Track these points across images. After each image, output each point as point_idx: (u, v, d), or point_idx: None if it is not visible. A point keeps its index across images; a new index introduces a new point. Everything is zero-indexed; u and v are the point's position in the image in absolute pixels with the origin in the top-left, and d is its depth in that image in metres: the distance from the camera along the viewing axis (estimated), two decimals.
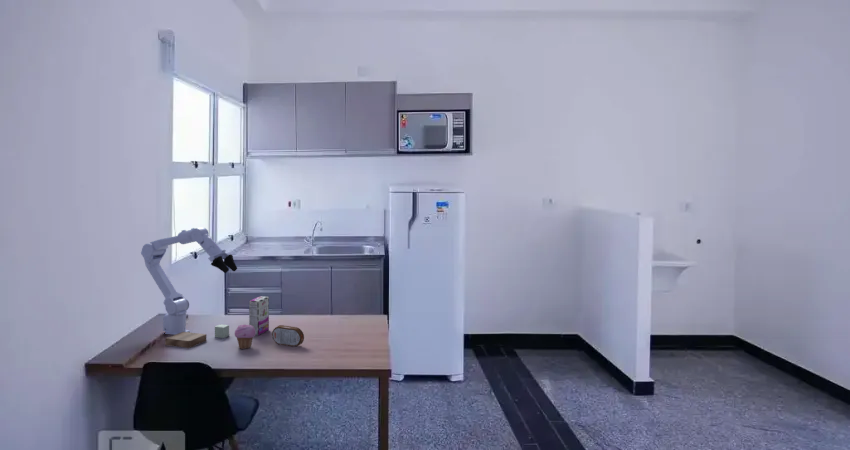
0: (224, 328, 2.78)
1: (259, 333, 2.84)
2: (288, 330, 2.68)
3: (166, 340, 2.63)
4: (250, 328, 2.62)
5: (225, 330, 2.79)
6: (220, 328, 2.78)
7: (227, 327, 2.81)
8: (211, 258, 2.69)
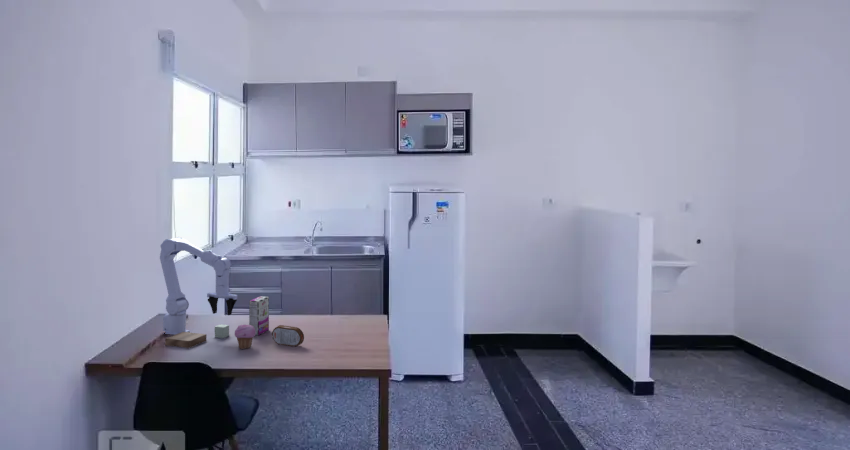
0: (224, 328, 2.78)
1: (259, 333, 2.84)
2: (288, 330, 2.68)
3: (166, 340, 2.63)
4: (250, 328, 2.62)
5: (225, 330, 2.79)
6: (220, 328, 2.78)
7: (227, 327, 2.81)
8: (236, 297, 2.77)
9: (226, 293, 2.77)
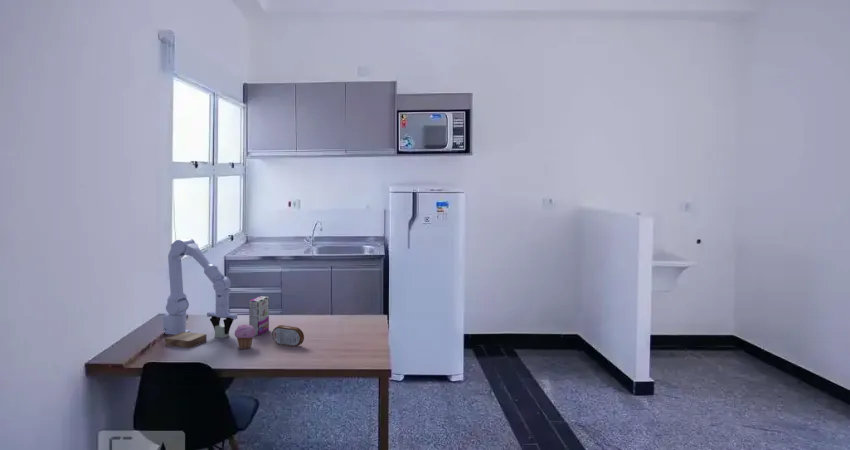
0: (224, 328, 2.78)
1: (259, 333, 2.84)
2: (288, 330, 2.68)
3: (166, 340, 2.63)
4: (250, 328, 2.62)
5: None
6: (220, 328, 2.78)
7: None
8: (236, 317, 2.78)
9: (226, 313, 2.78)
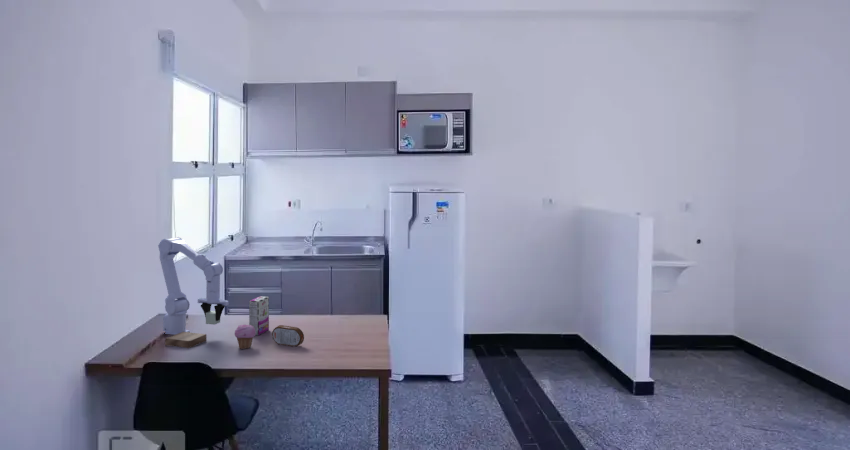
0: (215, 314, 2.75)
1: (259, 333, 2.84)
2: (288, 330, 2.68)
3: (166, 340, 2.63)
4: (250, 328, 2.62)
5: None
6: (211, 314, 2.74)
7: None
8: (227, 303, 2.74)
9: (217, 299, 2.74)
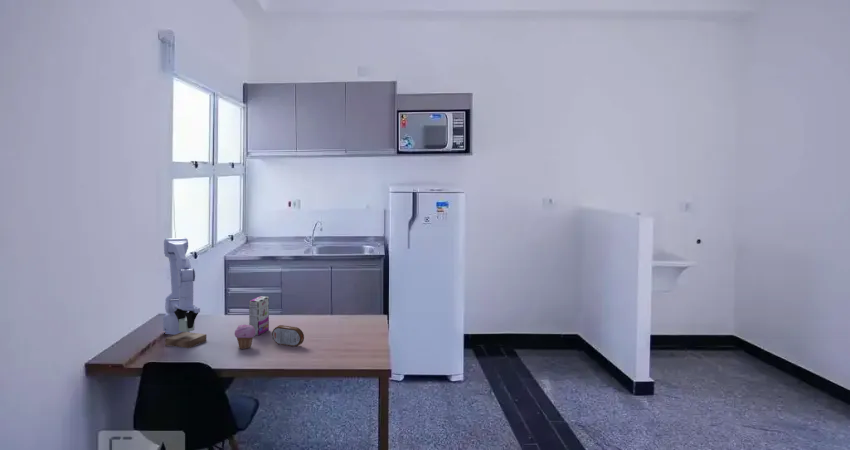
0: None
1: (259, 333, 2.84)
2: (288, 330, 2.68)
3: (166, 340, 2.63)
4: (250, 328, 2.62)
5: None
6: (183, 321, 2.65)
7: None
8: (198, 310, 2.64)
9: (189, 306, 2.65)
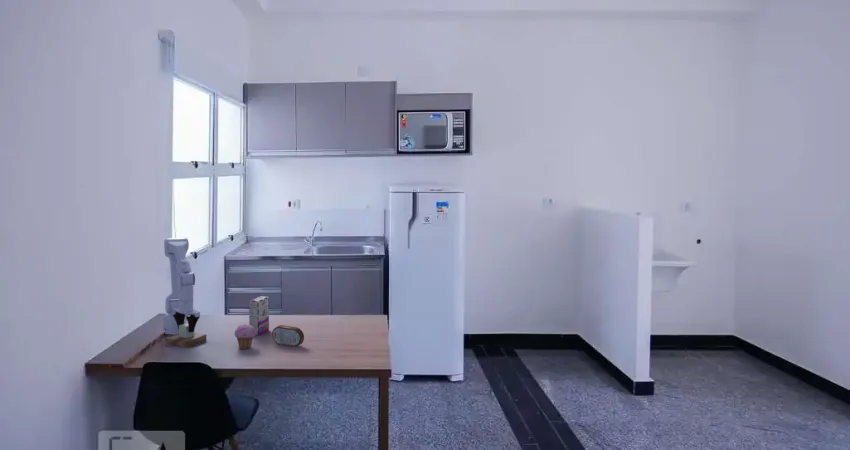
0: (187, 327, 2.65)
1: (259, 333, 2.84)
2: (288, 330, 2.68)
3: (166, 340, 2.63)
4: (250, 328, 2.62)
5: (188, 329, 2.66)
6: (183, 327, 2.65)
7: None
8: (198, 314, 2.64)
9: (189, 309, 2.65)
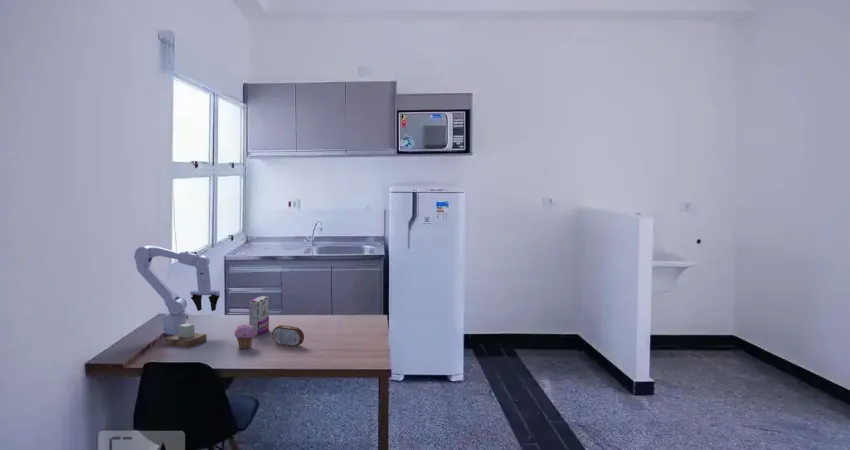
0: (187, 327, 2.65)
1: (259, 333, 2.84)
2: (288, 330, 2.68)
3: (166, 340, 2.63)
4: (250, 328, 2.62)
5: (188, 329, 2.66)
6: (183, 327, 2.65)
7: (191, 326, 2.67)
8: (218, 293, 2.82)
9: (208, 290, 2.83)
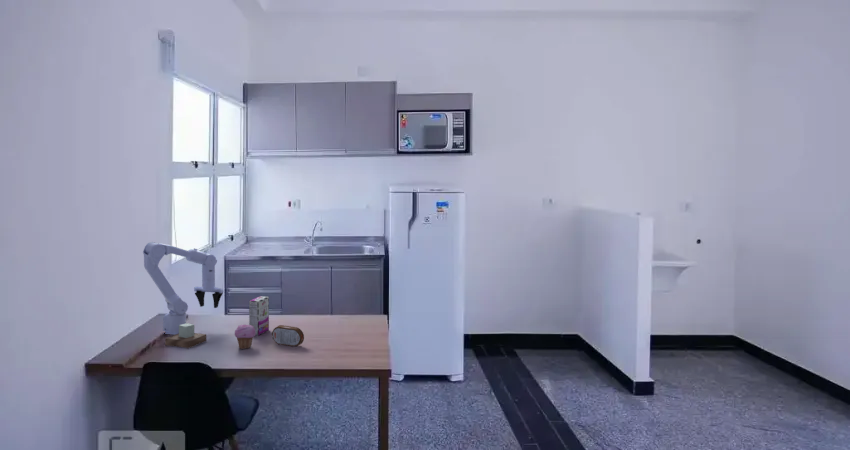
0: (187, 327, 2.65)
1: (259, 333, 2.84)
2: (288, 330, 2.68)
3: (166, 340, 2.63)
4: (250, 328, 2.62)
5: (188, 329, 2.66)
6: (183, 327, 2.65)
7: (191, 326, 2.67)
8: (222, 291, 2.91)
9: (212, 287, 2.91)
